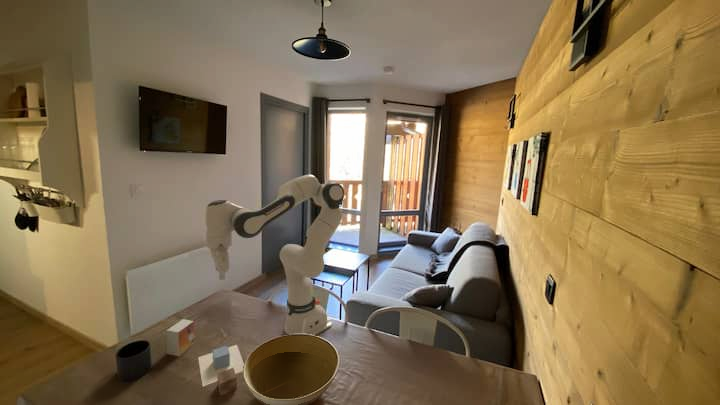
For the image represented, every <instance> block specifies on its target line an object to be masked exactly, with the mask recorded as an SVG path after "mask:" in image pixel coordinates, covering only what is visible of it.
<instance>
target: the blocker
mask: <svg viewBox="0 0 720 405" xmlns="http://www.w3.org/2000/svg"><path fill="white" fill-rule="evenodd" d="M237 380H238V379H237V374H235V371H234V368H231V369H228V370H226V371H223V372H220V373H218V381H217V388H218V391H219V395H220V397H221V396H224V395H226V394H229V393H230V392H233V391H236V390H237V389H238V388H237V386H238V384H237V383H238V382H237Z"/></svg>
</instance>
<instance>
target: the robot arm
mask: <svg viewBox="0 0 720 405" xmlns="http://www.w3.org/2000/svg"><path fill="white" fill-rule="evenodd" d="M344 198H345V188H344V187H343V186H342V185H341V184H340V183H338V182H333V181H332V182H326V183H320V182H319V180H318V178H317V177H316V176H315V175H313V174H305V175H301V176H299V177H295V178H293V179H291V180H289V181H287V182H286V183H285V182H284V184H283V185H281V186H280V187H279V188H278V190H277V198H276V199H275V200H274V201H272V202H270V203H269V204H267V205H265V206H264V207H263V208H261V209H258V210H251V209H249V208H248V207H245V206H241V205H237V204H235V203H232V202H230V200H226V199H217V200H214V201H211V202H210V203H209V204H207V206H206V210H205V226H206V229H207V230H206V234H205V237H206V238H205V239H206V240H205V241H206V242H205V243H206V248H207V249H210V255H211V257H212V260H213V262H214V265H215V271H216V272H217V273H218V274H219V275H218V277H219V280H220V281H223V280H225V277H226V272H229V270H230V258H229V257H230V256H229V252H228V249H229V248H230V247H231V246H232V245H233V244H232V243H233V242H232V240H233V239H232V232H234V231H235V233H236V234H237V235H238V236H240V237H241V238H243V239H251V238H254V237H257V236H258V235H259V234H260V233H261V232H262V231H263V230H264V228H266V226H267V225H269V224H271V223H272V222H273V221H275V220H277V219H278V218H280V217H281V216H282V215H284V214H286V213H287V212H288V211H290V210H292V209H293V208H295V207H296V206H298V205H300V204H301V203H303V202H305V201H307V200H308V199H309V200H310V201H311V202H312V204H313V205H315V206H317V207H320V212H319V213H318V215H317V217H316V218H315V219H314V221H313V222H312V223H311V225H310V226H309V228H307V230H306V241H305V245H304V246H302V245H299V244H294V243H288V244H285V245H284V246H282V248H281V249H280V251H279V259H280V261H281V263H282V265H283V266H282V267H283V269H284V273H285V277H286V282H287V299H286V319H285V323H284V326H283V331H284V333H285V334H286V335H288V334H294V333H307V334H312V335H314V336H316V335H318V334H320V333H321V332H323V331H324V330H327V329H328V328H330V327H332V324H333V323H332V322H333V321H332V319H331V317H330V316H329V315H328V314H327V312H326V310H325V308H324V307H323V306H322V305H320V302H321V301H320V300H319V299H318V298H317V299H316V297H315V296H313V289H314V286H313V281H312V279H316V278H318V277H319V276H320V275H322V272H323V271H324V268H325V261H324V253H325V250H326V247H327V245H328V243H329V242H330V241H331V239H332V237H333V235H334V234H335V232H336V231H337V229H338V227H339V226H340V224H341V221H342V219H343V216H344V214H343V210H342V209H341V207H342V205H343V201H344ZM327 317H328V318H327Z"/></svg>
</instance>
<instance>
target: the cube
mask: <svg viewBox="0 0 720 405" xmlns="http://www.w3.org/2000/svg"><path fill="white" fill-rule="evenodd" d="M212 353H213V364H214V368H215V370H218V369H221V368H223V367H226V366H229V365H230V353H229V350H228V345H225V346H221V347H218V348H216V349H212Z"/></svg>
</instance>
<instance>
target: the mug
mask: <svg viewBox="0 0 720 405" xmlns="http://www.w3.org/2000/svg"><path fill="white" fill-rule="evenodd" d="M151 350H152V349H151V343H150V341H148V340H146V339H145V340H143V339H142V340H136V341H131V342H128V343H127V344H125V345H123V346H121V347H120V348H119V349H118V350H117V351H116V352H115V361H116V362H115V363H116V373H117V379H118V380H119V381H121V382H124V383H125V382H131V381H135V380H138V379H140V378H141V377H143V376H145V375H146V374H147V373H148V372H150V371H151V369H152V367H153V363H152V351H151Z"/></svg>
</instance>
